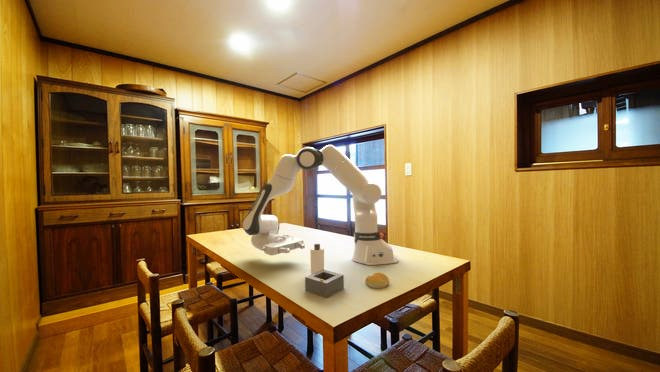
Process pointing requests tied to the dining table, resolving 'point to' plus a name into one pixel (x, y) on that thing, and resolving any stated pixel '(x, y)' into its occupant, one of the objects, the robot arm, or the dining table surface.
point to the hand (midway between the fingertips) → (296, 248)
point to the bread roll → (377, 280)
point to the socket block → (324, 283)
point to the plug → (317, 258)
